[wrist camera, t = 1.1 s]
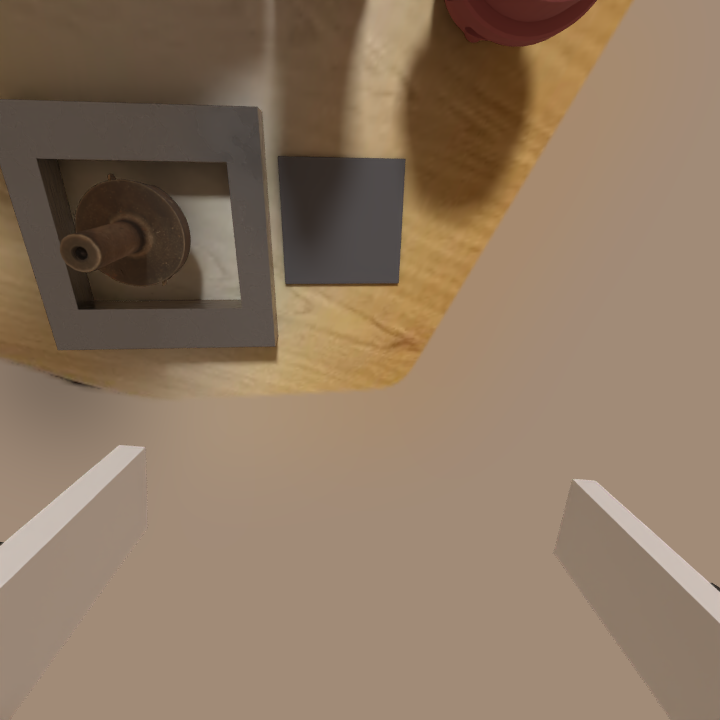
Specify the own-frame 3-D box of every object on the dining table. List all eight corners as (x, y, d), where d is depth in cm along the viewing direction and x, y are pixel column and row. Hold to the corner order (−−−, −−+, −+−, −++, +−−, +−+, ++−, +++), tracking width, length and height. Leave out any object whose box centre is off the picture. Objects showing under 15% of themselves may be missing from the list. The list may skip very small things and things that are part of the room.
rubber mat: (278, 156, 32) (278, 156, 32) (404, 159, 33) (405, 158, 33) (285, 282, 36) (285, 283, 36) (397, 282, 37) (398, 283, 37)
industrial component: (99, 173, 32) (-17, 174, 21) (196, 174, 32) (132, 175, 21) (127, 292, 36) (41, 345, 25) (212, 291, 36) (165, 343, 25)
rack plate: (5, 104, 29) (-21, 98, 27) (262, 111, 31) (257, 106, 29) (74, 339, 37) (57, 350, 35) (278, 336, 38) (275, 346, 36)
